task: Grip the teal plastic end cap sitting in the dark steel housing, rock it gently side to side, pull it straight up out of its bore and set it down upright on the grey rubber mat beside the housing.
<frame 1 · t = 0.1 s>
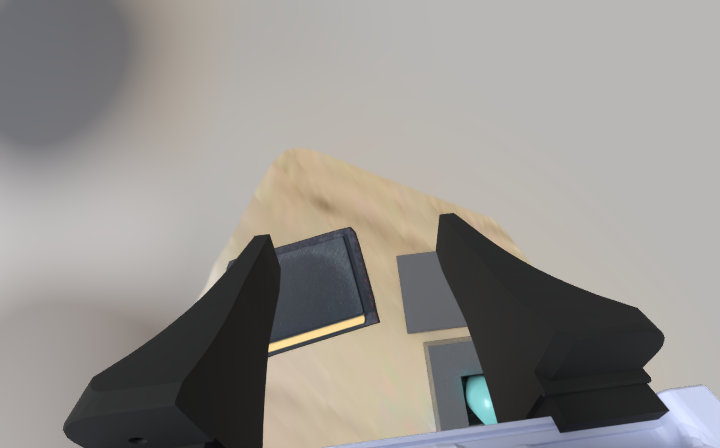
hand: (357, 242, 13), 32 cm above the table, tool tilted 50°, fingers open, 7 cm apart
end cap: (488, 398, 38), in the housing
mat: (438, 289, 44), on the table
housing: (477, 389, 41), on the table
grey book: (302, 291, 44), on the table
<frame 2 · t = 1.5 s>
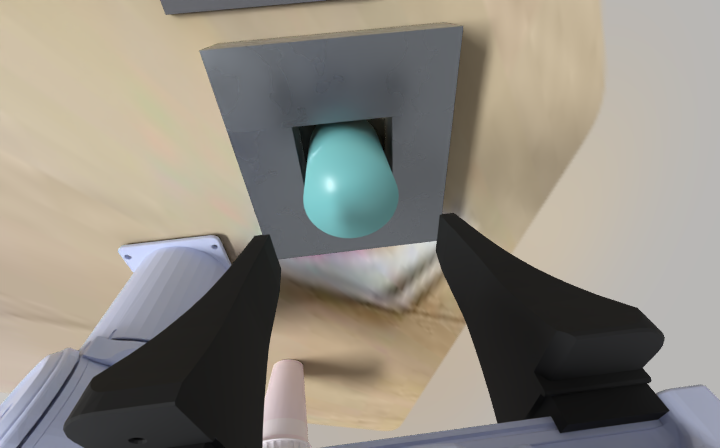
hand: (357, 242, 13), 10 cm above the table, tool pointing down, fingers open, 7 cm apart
end cap: (347, 171, 19), in the housing
smoothie: (288, 365, 38), on the table
housing: (344, 149, 21), on the table
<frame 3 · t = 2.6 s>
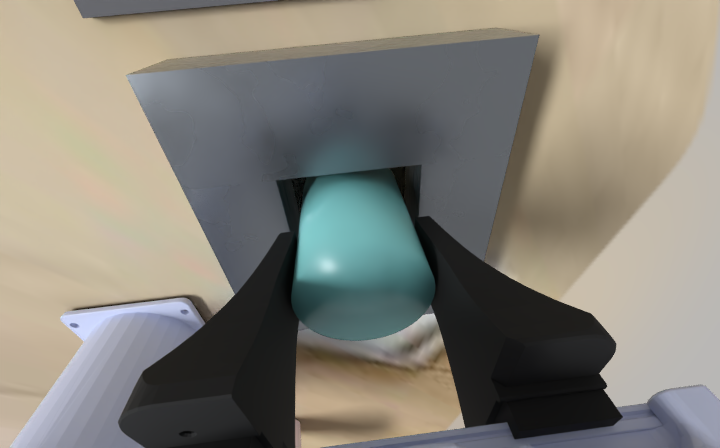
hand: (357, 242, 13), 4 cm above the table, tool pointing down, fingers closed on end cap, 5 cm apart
end cap: (356, 236, 13), in the housing, touching gripper
smoothie: (283, 422, 33), on the table
housing: (350, 195, 16), on the table
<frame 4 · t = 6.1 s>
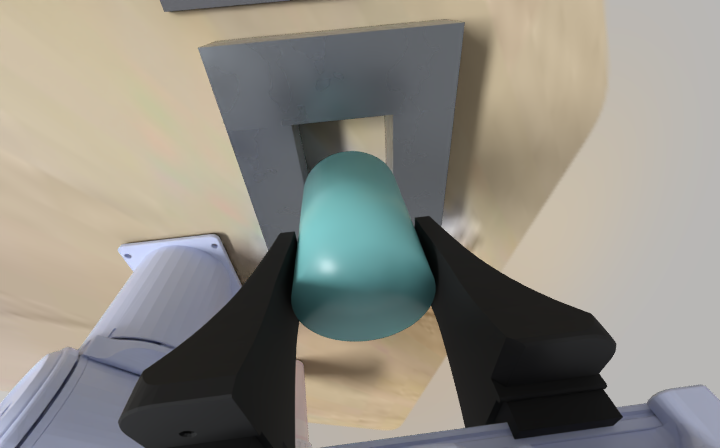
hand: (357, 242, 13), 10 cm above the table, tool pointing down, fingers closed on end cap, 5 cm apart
end cap: (356, 236, 13), point 10 cm above the table, touching gripper
smoothie: (289, 364, 38), on the table
housing: (344, 147, 21), on the table
when the fingers open (6 cm above the table, at t = 8.9 s): end cap drops 1 cm, resting on mat.
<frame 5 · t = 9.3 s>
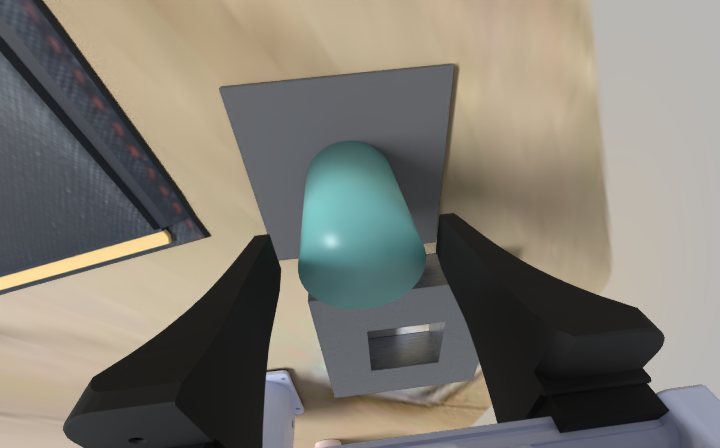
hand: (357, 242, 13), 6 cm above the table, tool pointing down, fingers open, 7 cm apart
end cap: (355, 217, 14), on the mat
mat: (348, 177, 18), on the table
smoothie: (328, 442, 43), on the table
housing: (398, 316, 26), on the table
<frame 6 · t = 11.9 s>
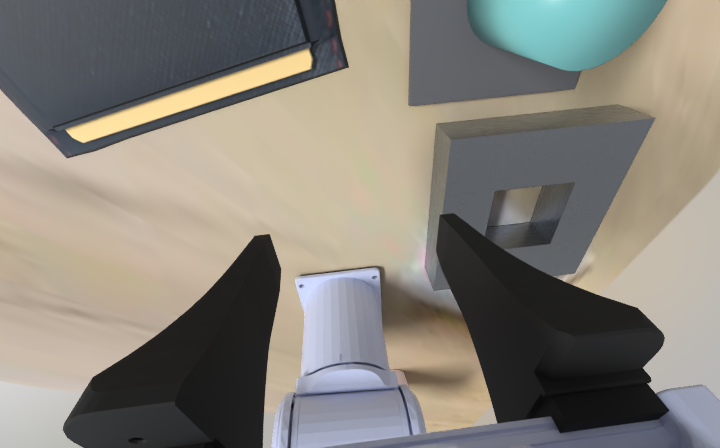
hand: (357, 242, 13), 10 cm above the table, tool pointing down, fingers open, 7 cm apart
housing: (505, 198, 25), on the table
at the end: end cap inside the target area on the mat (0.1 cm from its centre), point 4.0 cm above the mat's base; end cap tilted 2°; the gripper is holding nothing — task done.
